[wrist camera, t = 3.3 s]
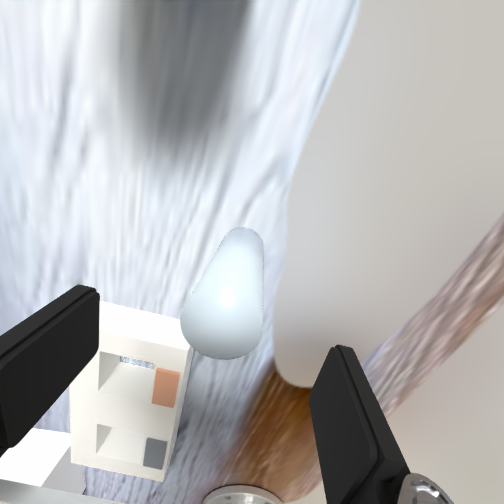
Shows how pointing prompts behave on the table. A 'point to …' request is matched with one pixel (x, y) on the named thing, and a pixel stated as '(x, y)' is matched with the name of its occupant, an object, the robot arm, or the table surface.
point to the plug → (228, 299)
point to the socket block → (130, 394)
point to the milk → (43, 462)
